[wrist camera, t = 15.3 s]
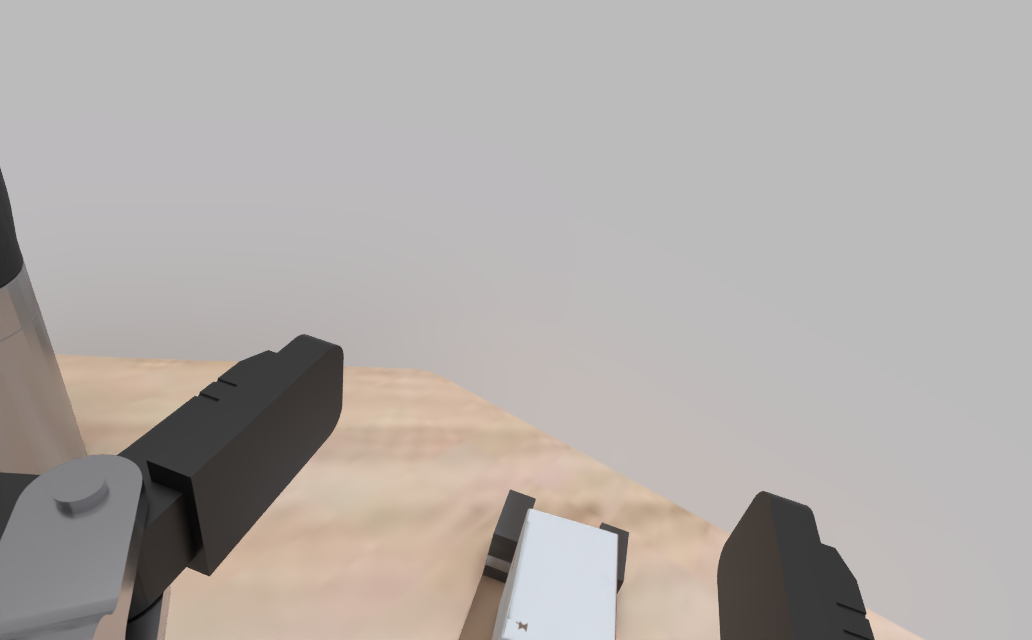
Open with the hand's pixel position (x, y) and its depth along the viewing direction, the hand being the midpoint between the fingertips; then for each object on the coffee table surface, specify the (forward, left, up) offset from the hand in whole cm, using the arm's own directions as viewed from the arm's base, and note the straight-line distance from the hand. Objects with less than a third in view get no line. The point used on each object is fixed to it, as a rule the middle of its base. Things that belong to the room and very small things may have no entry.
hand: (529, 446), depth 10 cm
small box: (+3, +10, -29) cm, 31 cm away
